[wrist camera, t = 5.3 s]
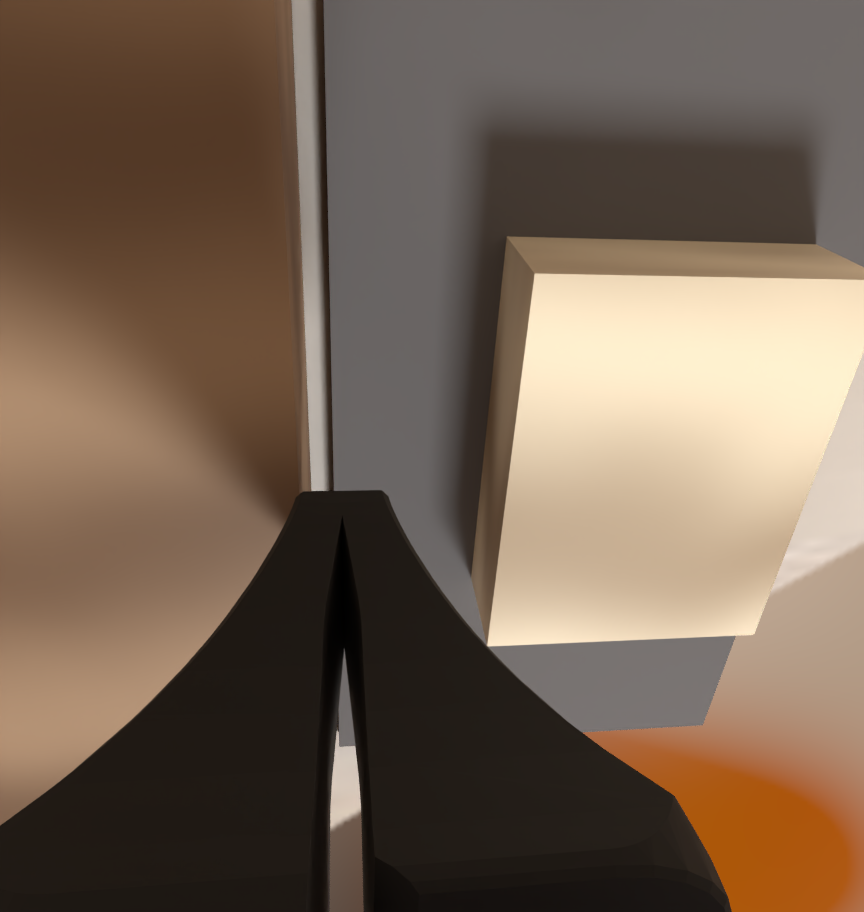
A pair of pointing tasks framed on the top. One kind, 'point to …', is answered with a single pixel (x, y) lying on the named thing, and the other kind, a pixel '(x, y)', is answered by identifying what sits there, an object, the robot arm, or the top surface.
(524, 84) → the rubber mat
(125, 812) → the robot arm
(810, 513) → the top surface
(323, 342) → the top surface
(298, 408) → the walnut deck
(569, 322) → the birch tile
